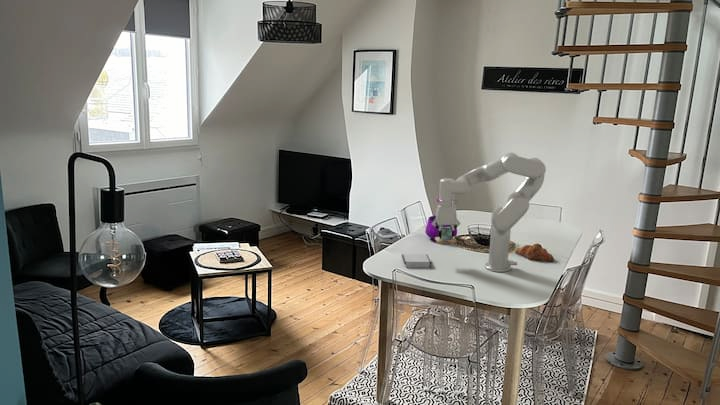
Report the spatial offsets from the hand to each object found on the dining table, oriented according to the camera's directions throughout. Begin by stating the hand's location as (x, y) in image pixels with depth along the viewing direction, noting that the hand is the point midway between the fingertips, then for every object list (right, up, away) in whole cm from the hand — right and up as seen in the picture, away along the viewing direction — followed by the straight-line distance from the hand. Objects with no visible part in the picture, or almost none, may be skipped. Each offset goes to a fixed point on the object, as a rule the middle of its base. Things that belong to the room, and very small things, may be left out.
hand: (445, 237), depth 269 cm
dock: (-15, -14, +3) cm, 20 cm away
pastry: (+51, -12, +16) cm, 55 cm away
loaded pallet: (0, -2, +1) cm, 2 cm away
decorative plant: (+4, -4, +46) cm, 46 cm away
